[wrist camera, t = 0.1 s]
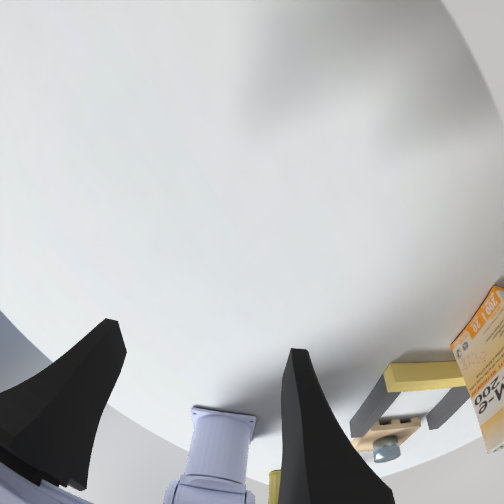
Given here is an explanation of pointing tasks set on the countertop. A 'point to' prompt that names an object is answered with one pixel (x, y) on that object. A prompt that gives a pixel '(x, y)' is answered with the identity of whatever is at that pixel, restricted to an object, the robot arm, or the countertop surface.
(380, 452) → the steel cylinder puck
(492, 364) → the supplement box
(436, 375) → the frame
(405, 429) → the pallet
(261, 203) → the countertop surface
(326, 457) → the robot arm
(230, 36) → the countertop surface
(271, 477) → the vase
